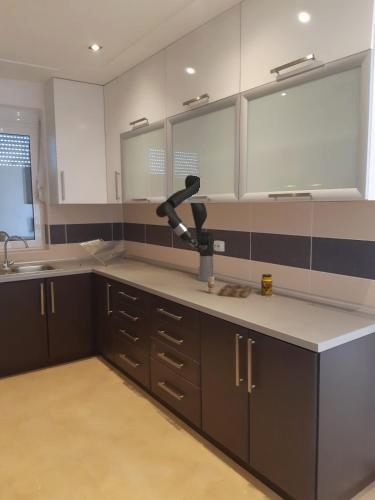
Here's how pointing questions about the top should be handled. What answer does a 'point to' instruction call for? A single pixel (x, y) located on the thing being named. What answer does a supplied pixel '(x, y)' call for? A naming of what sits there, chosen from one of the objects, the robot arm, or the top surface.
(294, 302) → the top surface
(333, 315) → the top surface
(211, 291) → the peg
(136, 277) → the top surface
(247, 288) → the clear brown food package
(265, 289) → the condiment
